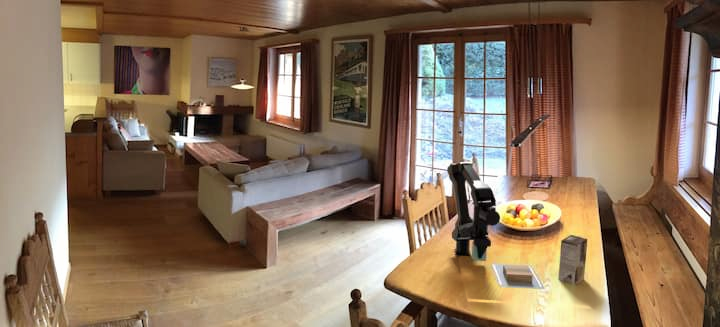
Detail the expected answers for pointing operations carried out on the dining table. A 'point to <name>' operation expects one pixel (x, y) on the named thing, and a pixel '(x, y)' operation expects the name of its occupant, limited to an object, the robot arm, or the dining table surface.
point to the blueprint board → (503, 283)
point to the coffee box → (572, 259)
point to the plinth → (517, 273)
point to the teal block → (475, 254)
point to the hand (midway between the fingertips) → (478, 256)
